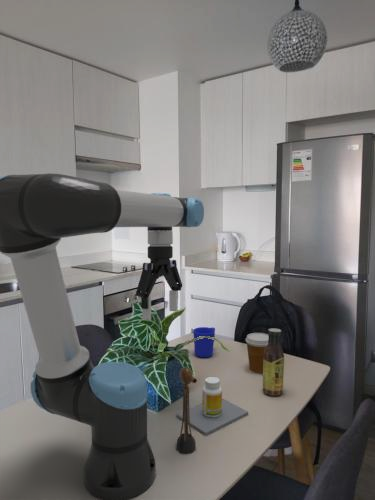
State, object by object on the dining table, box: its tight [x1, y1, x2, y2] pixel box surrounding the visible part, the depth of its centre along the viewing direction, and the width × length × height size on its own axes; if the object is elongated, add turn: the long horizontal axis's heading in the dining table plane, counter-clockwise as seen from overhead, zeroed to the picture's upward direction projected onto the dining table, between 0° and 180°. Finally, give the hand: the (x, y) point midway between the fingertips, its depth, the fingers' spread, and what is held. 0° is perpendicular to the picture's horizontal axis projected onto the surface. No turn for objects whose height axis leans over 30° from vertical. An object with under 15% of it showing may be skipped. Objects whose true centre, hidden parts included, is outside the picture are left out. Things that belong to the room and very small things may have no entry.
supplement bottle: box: [201, 376, 223, 418], centre depth 108 cm, size 5×5×10 cm
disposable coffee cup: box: [245, 332, 269, 374], centre depth 139 cm, size 10×10×12 cm
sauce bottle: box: [262, 327, 285, 397], centre depth 122 cm, size 7×6×20 cm
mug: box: [192, 326, 216, 359], centre depth 154 cm, size 8×12×10 cm
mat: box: [175, 397, 249, 437], centre depth 109 cm, size 16×12×1 cm
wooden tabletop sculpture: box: [175, 366, 198, 455], centre depth 93 cm, size 6×5×20 cm
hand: (160, 315), depth 120 cm, fingers open, 13 cm apart
